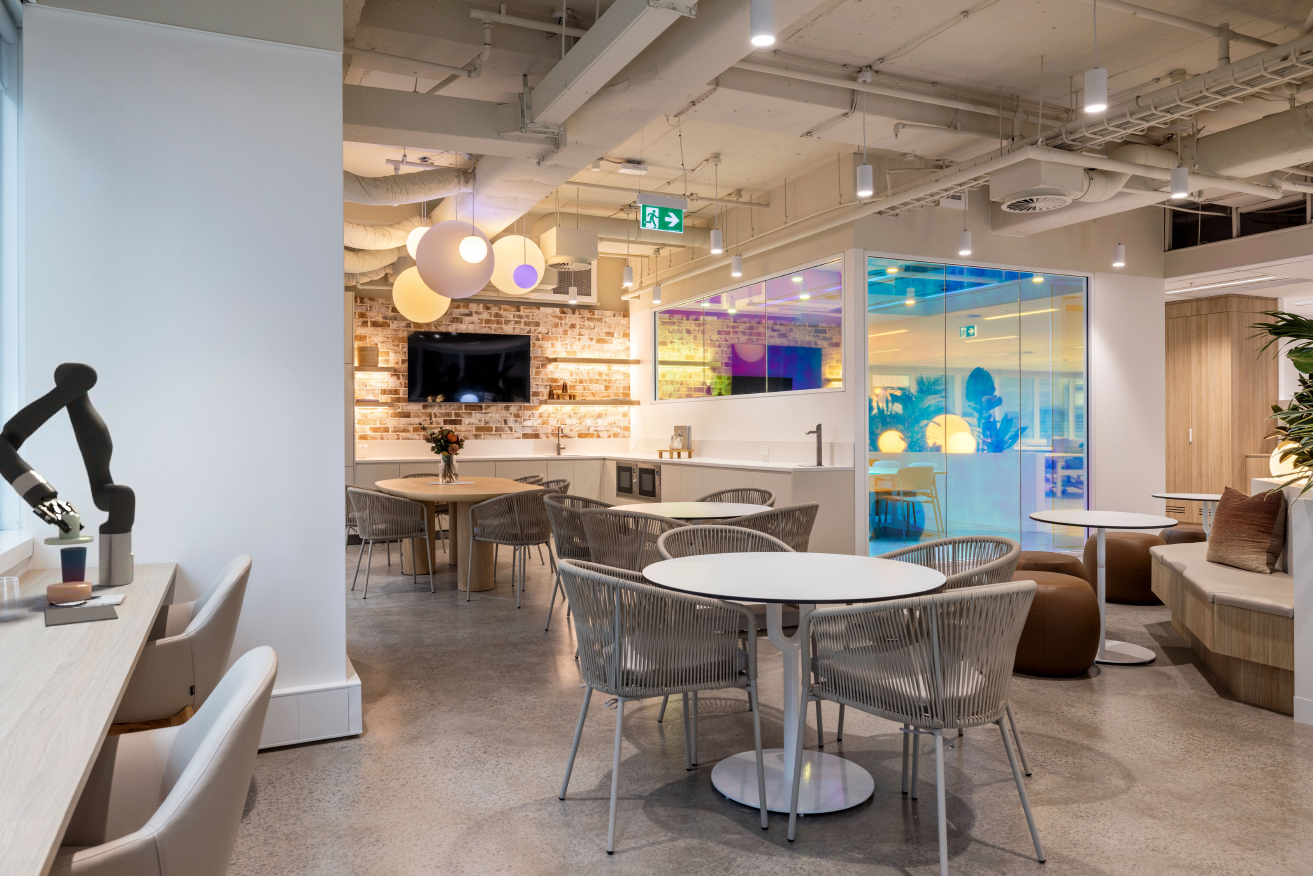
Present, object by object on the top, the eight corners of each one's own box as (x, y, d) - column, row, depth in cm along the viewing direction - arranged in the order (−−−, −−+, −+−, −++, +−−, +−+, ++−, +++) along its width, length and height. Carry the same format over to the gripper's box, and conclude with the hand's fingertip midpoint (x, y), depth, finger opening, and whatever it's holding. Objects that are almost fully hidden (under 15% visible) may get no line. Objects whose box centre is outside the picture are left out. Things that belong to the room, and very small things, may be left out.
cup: (92, 594, 262) (92, 547, 261) (74, 598, 255) (75, 550, 255) (72, 593, 262) (72, 546, 262) (54, 598, 256) (54, 549, 255)
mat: (45, 610, 239) (45, 609, 239) (111, 604, 248) (111, 602, 248) (46, 626, 221) (46, 624, 221) (118, 618, 231) (118, 617, 231)
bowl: (68, 598, 255) (68, 580, 255) (100, 600, 253) (100, 582, 253) (37, 606, 244) (37, 587, 244) (70, 608, 243) (70, 589, 242)
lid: (68, 538, 254) (68, 512, 254) (103, 540, 253) (103, 513, 253) (33, 544, 243) (33, 516, 242) (70, 545, 241) (70, 517, 241)
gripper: (26, 482, 240) (68, 524, 241) (60, 479, 254) (100, 519, 255) (7, 500, 240) (49, 542, 241) (42, 496, 254) (82, 536, 255)
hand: (75, 530), depth 248 cm, fingers closed on lid, 5 cm apart
